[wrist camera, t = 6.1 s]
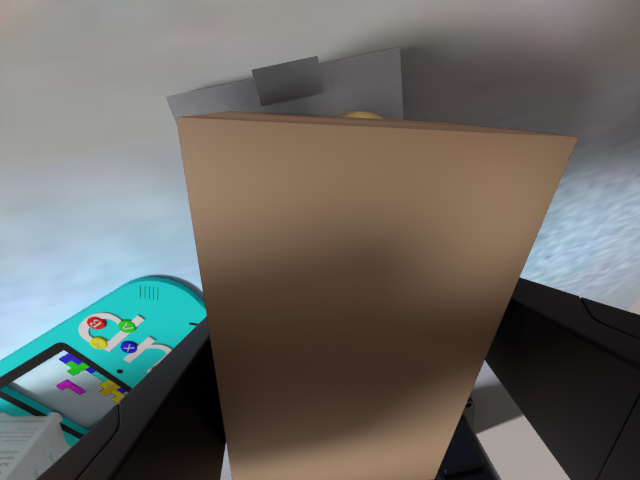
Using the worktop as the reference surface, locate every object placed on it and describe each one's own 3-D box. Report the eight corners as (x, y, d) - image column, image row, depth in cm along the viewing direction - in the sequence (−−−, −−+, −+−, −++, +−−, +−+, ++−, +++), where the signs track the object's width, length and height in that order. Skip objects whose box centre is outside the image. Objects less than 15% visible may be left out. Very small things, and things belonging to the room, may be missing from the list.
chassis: (405, 296, 18) (454, 374, 13) (264, 328, 17) (256, 419, 12) (389, 52, 12) (467, 13, 7) (176, 97, 12) (93, 93, 7)
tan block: (391, 369, 12) (434, 479, 9) (251, 377, 12) (234, 498, 8) (448, 122, 8) (578, 137, 4) (231, 110, 7) (175, 117, 4)
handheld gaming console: (256, 362, 18) (79, 455, 20) (258, 350, 19) (88, 439, 21) (156, 267, 14) (-47, 391, 16) (164, 257, 15) (-29, 376, 17)
